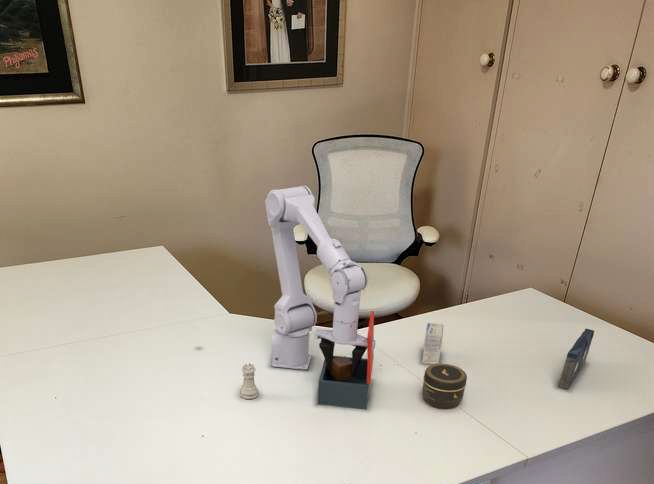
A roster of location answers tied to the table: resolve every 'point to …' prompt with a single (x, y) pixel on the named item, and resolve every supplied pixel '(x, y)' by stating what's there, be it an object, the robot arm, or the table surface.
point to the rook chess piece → (248, 383)
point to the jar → (443, 386)
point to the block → (341, 368)
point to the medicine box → (432, 343)
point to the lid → (370, 348)
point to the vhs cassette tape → (576, 359)
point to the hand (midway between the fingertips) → (341, 370)
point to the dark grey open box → (344, 388)
